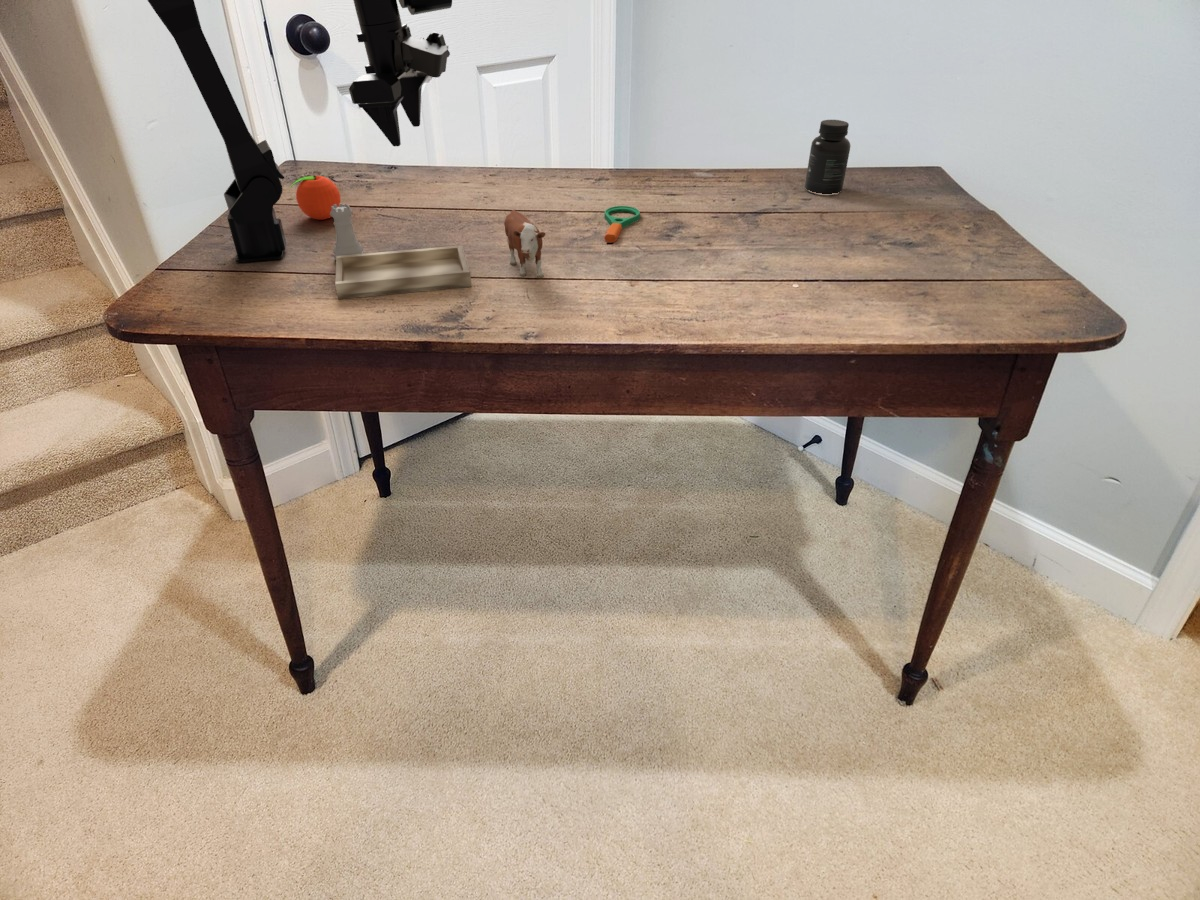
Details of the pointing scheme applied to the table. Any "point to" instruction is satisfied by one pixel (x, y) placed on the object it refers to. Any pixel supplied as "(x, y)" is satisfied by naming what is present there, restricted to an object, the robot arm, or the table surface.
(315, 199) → the clementine
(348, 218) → the rook chess piece
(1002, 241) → the table surface
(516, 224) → the bull figurine
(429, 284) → the tray
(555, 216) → the table surface
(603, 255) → the table surface
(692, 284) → the table surface
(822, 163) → the supplement bottle
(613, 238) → the magnifying glass
